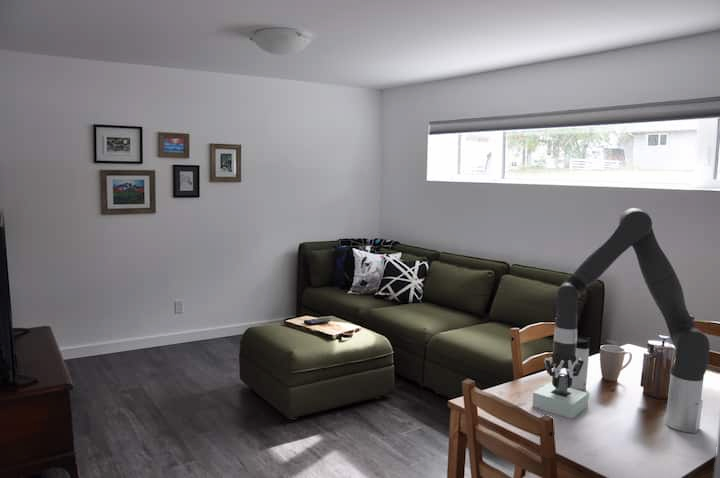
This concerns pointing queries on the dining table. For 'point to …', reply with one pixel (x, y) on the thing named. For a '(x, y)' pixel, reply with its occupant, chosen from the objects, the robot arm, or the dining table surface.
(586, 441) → the dining table surface
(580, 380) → the travel mug
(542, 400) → the socket block
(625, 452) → the dining table surface
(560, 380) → the pin
